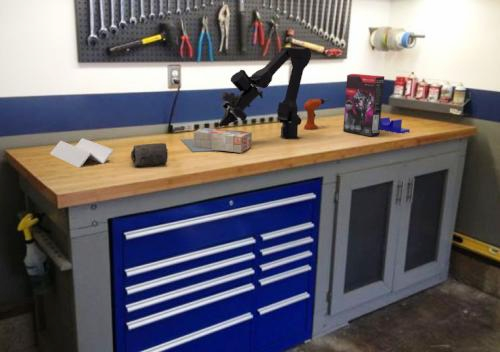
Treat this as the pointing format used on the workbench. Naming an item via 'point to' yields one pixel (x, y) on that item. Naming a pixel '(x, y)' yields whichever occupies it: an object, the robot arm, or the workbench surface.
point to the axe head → (150, 154)
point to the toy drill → (312, 112)
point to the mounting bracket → (392, 125)
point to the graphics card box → (363, 104)
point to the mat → (190, 145)
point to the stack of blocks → (223, 139)
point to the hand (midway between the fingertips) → (219, 126)
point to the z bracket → (81, 152)
